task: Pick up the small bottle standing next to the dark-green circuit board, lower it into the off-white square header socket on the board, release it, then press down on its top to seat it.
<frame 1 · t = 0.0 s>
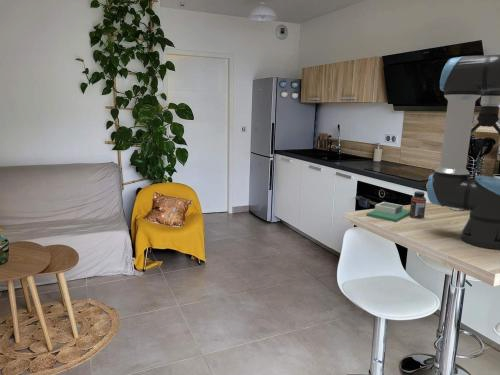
hand: (482, 152, 174), 28 cm above the table, fingers open, 13 cm apart
supplement bottle: (416, 217, 165), on the table
board: (389, 214, 168), on the table
drinking glass: (456, 209, 181), on the table
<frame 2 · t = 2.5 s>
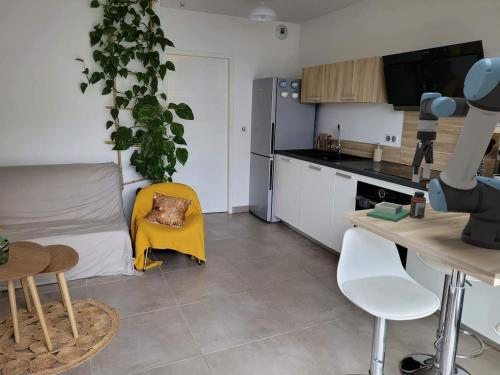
hand: (420, 180, 162), 17 cm above the table, fingers open, 13 cm apart
nothing on the table moved.
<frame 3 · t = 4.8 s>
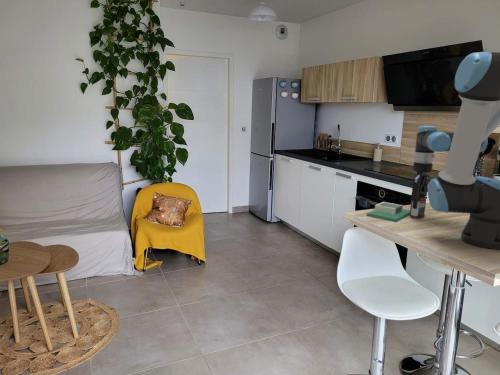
hand: (416, 213, 165), 1 cm above the table, fingers closed on supplement bottle, 6 cm apart
supplement bottle: (416, 217, 165), on the table, touching gripper
everything else where it was.
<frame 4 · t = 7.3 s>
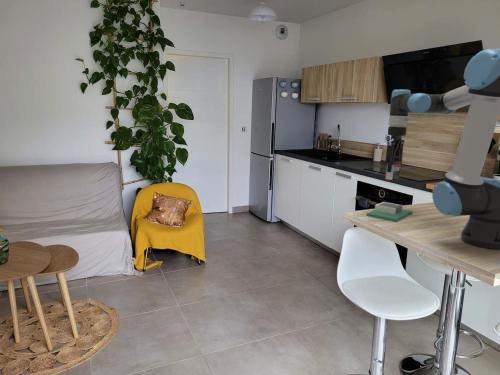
hand: (392, 178, 167), 16 cm above the table, fingers closed on supplement bottle, 6 cm apart
supplement bottle: (391, 181, 168), point 15 cm above the table, touching gripper
everything else where it was.
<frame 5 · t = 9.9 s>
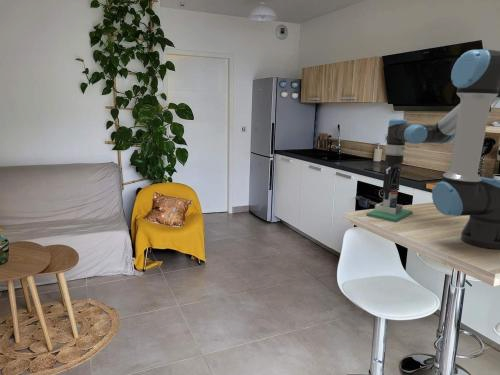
hand: (389, 205, 170), 4 cm above the table, fingers closed on supplement bottle, 6 cm apart
supplement bottle: (388, 208, 170), point 2 cm above the table, touching gripper
everything else where it was.
when the fingers open (4 cm above the table, at t = 11.0 s): supplement bottle stays where it is, resting on board.
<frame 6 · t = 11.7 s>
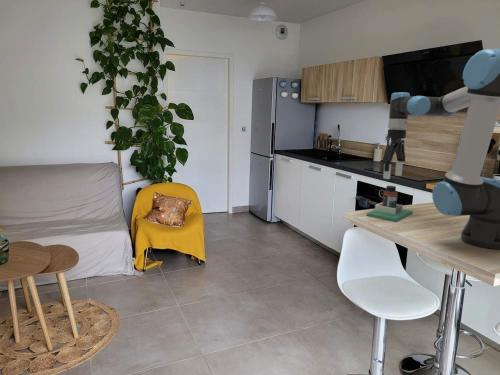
hand: (392, 177, 167), 17 cm above the table, fingers open, 13 cm apart
supplement bottle: (388, 210, 170), point 1 cm above the table, touching board
everything else where it was.
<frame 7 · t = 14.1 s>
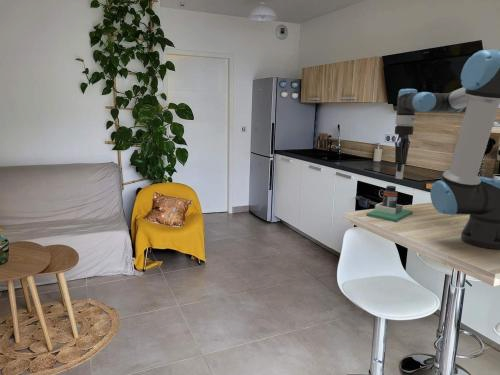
hand: (399, 178, 168), 16 cm above the table, fingers closed
nothing on the table moved.
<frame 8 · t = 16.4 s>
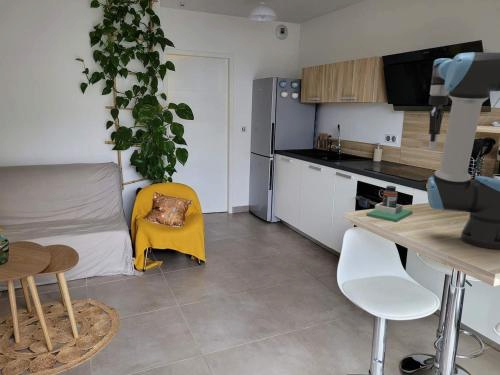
hand: (432, 148, 170), 29 cm above the table, fingers closed
nothing on the table moved.
at the end: supplement bottle 0.0 cm from the target spot, point 1.0 cm above the table; supplement bottle tilted 0°; the gripper is holding nothing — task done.
